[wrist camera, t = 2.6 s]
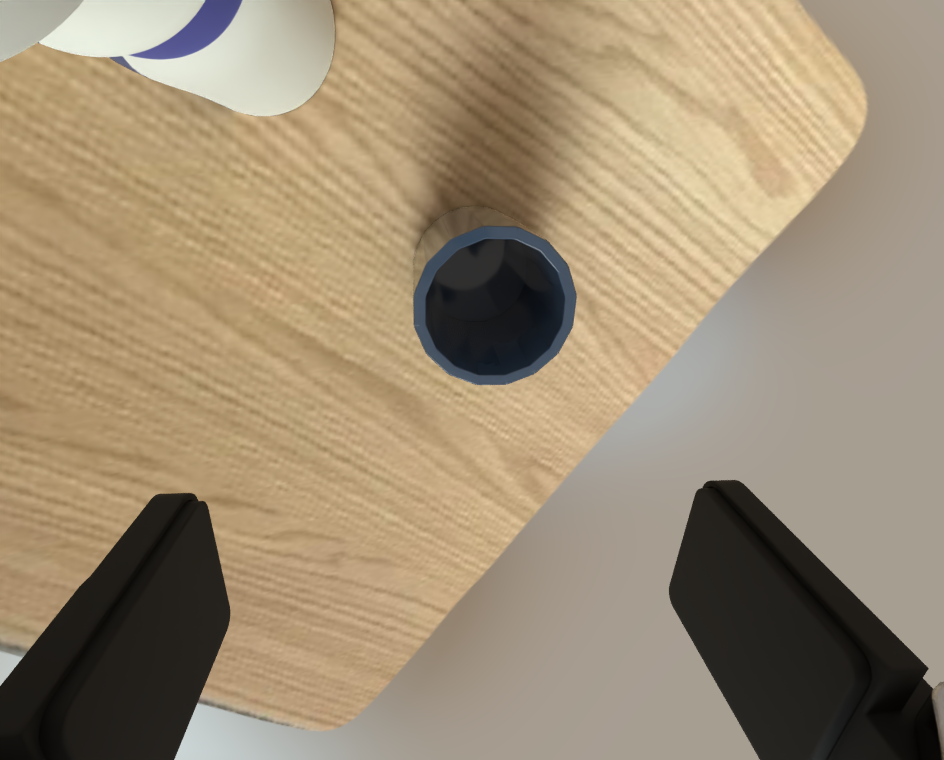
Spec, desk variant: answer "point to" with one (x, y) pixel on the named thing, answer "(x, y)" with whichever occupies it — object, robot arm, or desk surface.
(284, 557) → the desk surface
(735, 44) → the desk surface
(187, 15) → the water bottle
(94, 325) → the desk surface
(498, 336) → the blue cup
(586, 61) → the desk surface
